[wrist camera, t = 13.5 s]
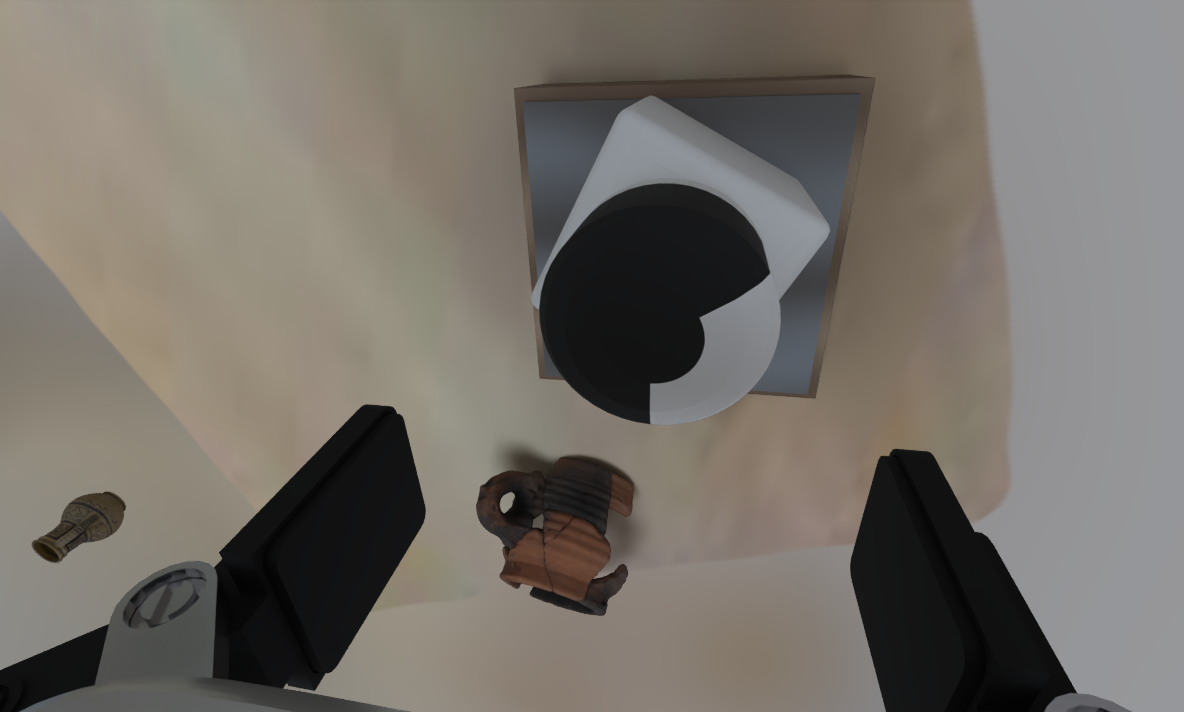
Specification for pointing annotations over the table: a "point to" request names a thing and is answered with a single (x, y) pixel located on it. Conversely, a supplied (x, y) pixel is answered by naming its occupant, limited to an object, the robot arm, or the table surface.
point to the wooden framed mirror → (746, 117)
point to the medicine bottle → (673, 269)
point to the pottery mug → (558, 532)
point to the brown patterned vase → (82, 525)
